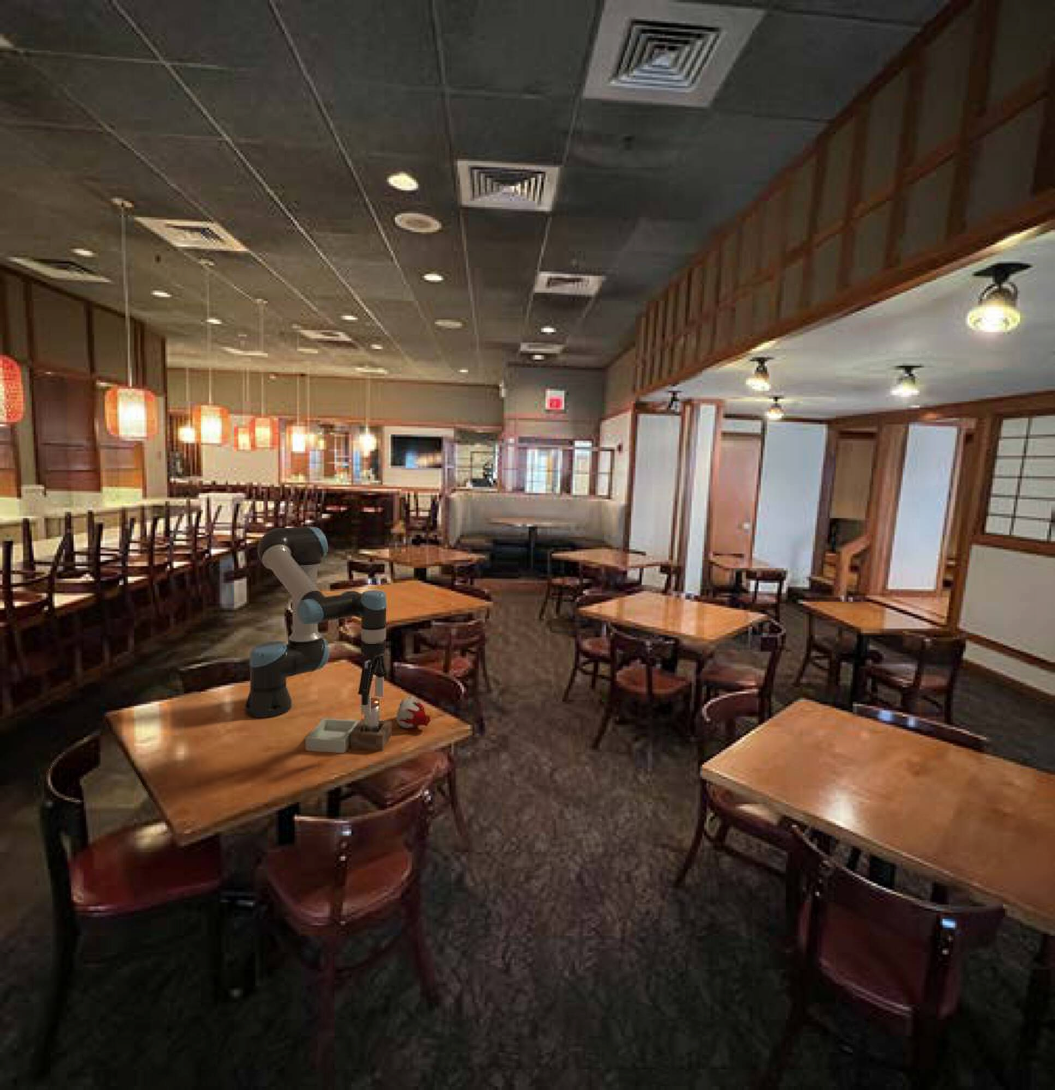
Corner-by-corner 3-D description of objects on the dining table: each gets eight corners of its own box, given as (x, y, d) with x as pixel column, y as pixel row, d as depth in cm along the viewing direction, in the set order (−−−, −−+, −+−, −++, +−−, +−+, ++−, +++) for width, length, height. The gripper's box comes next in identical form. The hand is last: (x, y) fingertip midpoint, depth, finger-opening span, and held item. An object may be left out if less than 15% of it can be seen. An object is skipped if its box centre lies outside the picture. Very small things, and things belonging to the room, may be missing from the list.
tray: (324, 729, 184) (324, 718, 184) (359, 731, 184) (359, 720, 183) (305, 750, 170) (305, 738, 170) (344, 753, 170) (344, 740, 169)
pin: (367, 738, 180) (367, 697, 178) (380, 739, 180) (381, 698, 178) (362, 744, 176) (363, 703, 174) (376, 745, 175) (377, 703, 174)
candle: (403, 712, 198) (438, 727, 193) (383, 724, 188) (418, 741, 182) (407, 689, 197) (441, 704, 191) (386, 700, 187) (422, 716, 181)
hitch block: (361, 733, 183) (361, 719, 182) (391, 735, 182) (391, 721, 182) (350, 748, 173) (350, 733, 172) (382, 750, 173) (382, 735, 172)
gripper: (374, 628, 186) (373, 688, 188) (347, 652, 161) (346, 721, 164) (396, 629, 185) (395, 690, 188) (372, 653, 161) (371, 722, 163)
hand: (372, 704), depth 176 cm, fingers open, 13 cm apart
